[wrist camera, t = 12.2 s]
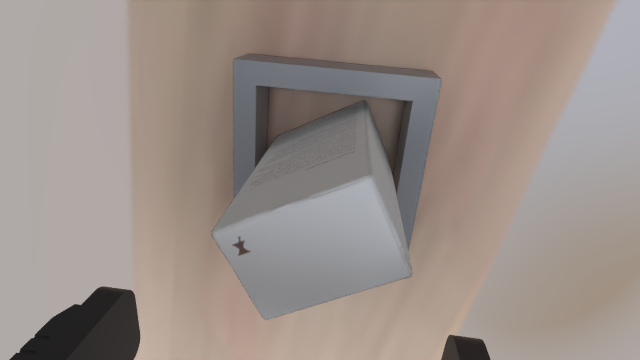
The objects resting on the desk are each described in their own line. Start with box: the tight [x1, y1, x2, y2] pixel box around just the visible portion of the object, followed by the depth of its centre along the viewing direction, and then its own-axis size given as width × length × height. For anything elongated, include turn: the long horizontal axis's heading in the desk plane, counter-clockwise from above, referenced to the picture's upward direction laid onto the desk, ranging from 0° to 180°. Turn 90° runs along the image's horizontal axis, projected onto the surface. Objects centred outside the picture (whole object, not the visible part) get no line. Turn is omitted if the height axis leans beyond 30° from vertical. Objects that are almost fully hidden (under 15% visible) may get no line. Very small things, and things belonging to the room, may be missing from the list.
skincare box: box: [211, 100, 412, 320], centre depth 19 cm, size 6×4×12 cm
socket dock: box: [233, 54, 442, 251], centre depth 23 cm, size 10×10×3 cm
